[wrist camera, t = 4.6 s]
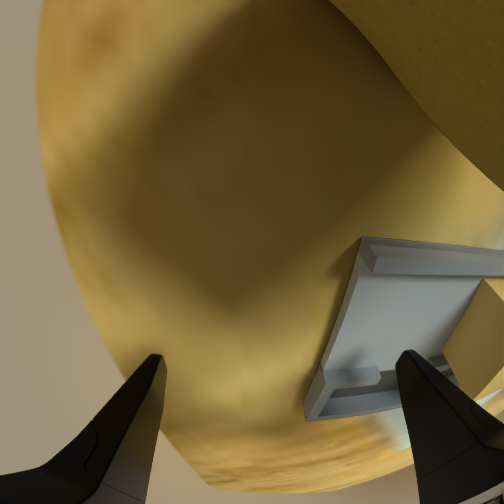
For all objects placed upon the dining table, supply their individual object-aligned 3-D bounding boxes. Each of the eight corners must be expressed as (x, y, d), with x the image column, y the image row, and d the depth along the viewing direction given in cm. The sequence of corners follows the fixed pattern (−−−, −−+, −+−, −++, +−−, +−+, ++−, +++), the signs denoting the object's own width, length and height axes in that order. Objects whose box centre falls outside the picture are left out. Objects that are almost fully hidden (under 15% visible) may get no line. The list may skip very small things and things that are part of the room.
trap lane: (539, 255, 10) (551, 267, 8) (469, 371, 15) (476, 383, 14) (362, 236, 9) (377, 257, 8) (302, 402, 15) (305, 421, 13)
